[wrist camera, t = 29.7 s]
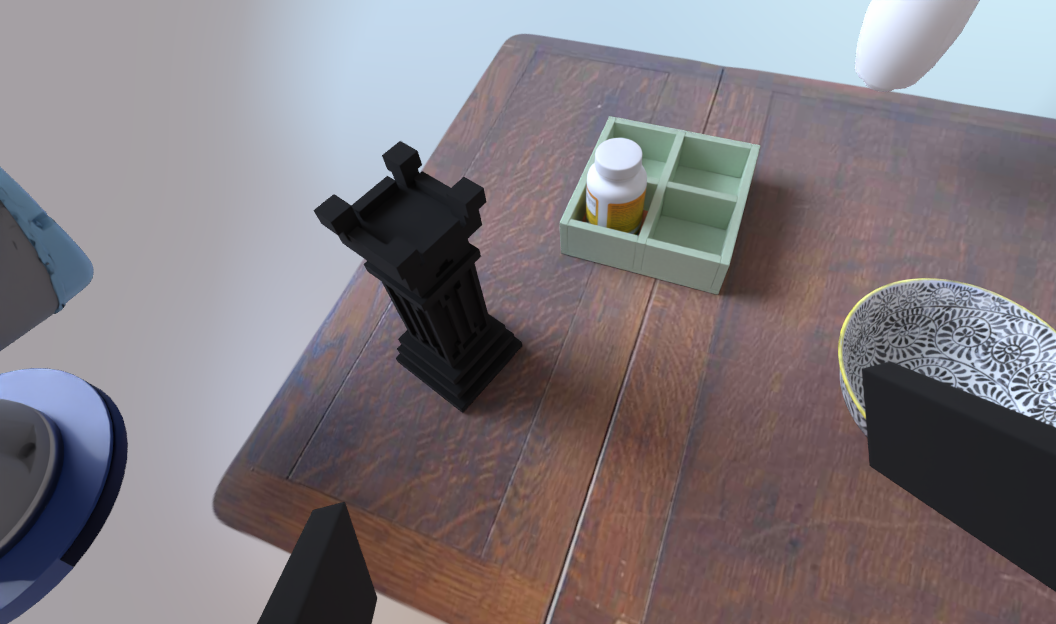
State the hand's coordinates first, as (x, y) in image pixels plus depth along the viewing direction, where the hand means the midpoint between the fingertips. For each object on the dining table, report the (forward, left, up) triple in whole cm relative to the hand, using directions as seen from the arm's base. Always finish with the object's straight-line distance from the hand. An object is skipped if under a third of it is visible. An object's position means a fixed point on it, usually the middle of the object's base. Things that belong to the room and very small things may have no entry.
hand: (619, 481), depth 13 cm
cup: (+11, +48, -30) cm, 58 cm away
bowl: (+19, +21, -30) cm, 41 cm away
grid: (-5, +35, -30) cm, 46 cm away
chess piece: (-17, +14, -30) cm, 37 cm away
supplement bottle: (-8, +31, -29) cm, 44 cm away
